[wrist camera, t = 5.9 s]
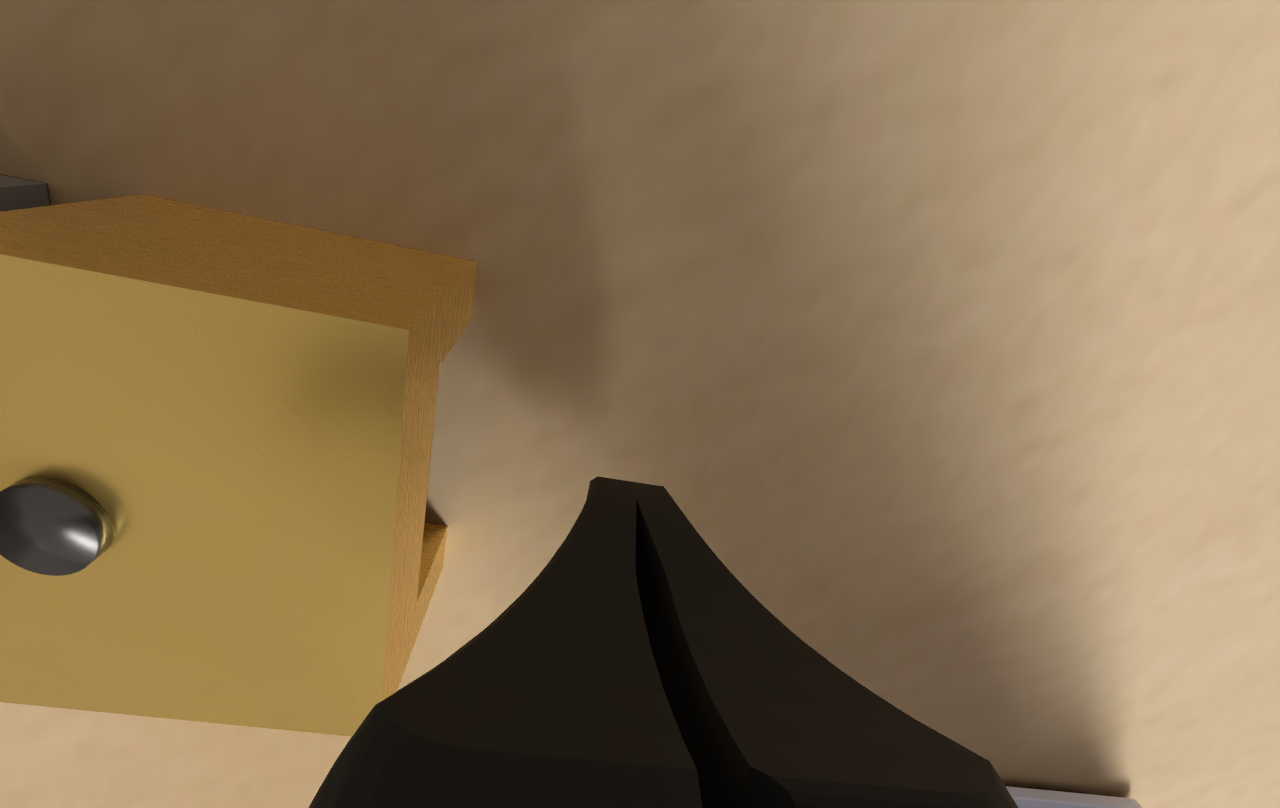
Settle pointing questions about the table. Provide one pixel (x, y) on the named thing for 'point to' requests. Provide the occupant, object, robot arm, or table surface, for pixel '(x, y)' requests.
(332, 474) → the wooden knob block
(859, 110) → the table surface
